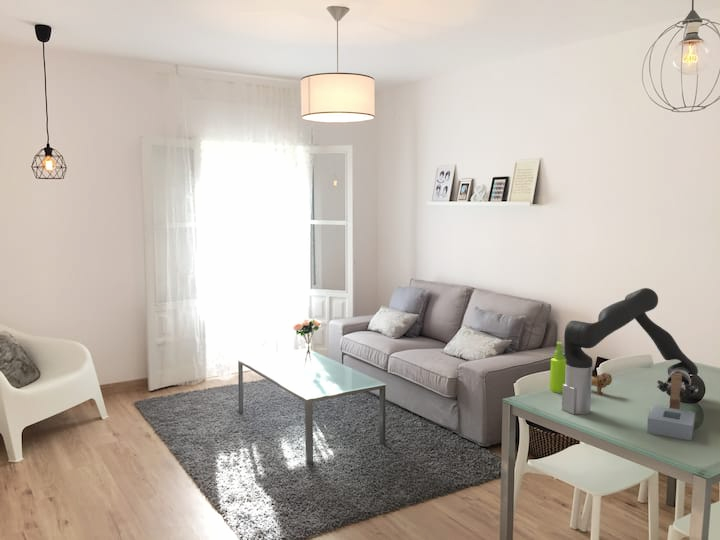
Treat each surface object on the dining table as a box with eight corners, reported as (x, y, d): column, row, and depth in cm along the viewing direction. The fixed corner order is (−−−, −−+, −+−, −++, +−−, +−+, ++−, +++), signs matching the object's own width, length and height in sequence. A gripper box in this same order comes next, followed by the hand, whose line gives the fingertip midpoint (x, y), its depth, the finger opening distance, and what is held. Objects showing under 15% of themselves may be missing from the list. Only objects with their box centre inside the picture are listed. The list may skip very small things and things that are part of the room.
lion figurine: (613, 394, 242) (614, 372, 241) (608, 397, 239) (609, 375, 238) (578, 386, 253) (579, 365, 252) (572, 389, 249) (573, 368, 248)
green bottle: (564, 388, 250) (566, 341, 247) (564, 393, 243) (566, 344, 241) (550, 387, 251) (551, 340, 249) (549, 392, 245) (551, 343, 243)
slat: (678, 421, 212) (681, 377, 210) (668, 420, 214) (671, 376, 212) (679, 417, 216) (682, 373, 214) (670, 415, 218) (672, 372, 216)
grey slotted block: (691, 440, 195) (692, 425, 195) (647, 432, 202) (648, 418, 201) (694, 426, 208) (695, 412, 207) (652, 419, 215) (653, 405, 214)
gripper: (658, 368, 229) (653, 380, 215) (701, 374, 222) (698, 386, 207) (657, 388, 230) (652, 400, 215) (699, 394, 223) (697, 407, 208)
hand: (675, 393), depth 211 cm, fingers closed on slat, 3 cm apart
